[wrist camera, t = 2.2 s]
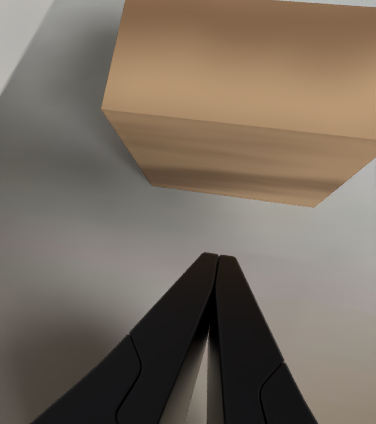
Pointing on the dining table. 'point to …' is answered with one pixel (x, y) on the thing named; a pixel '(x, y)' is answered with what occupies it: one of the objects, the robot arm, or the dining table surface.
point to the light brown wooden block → (245, 95)
